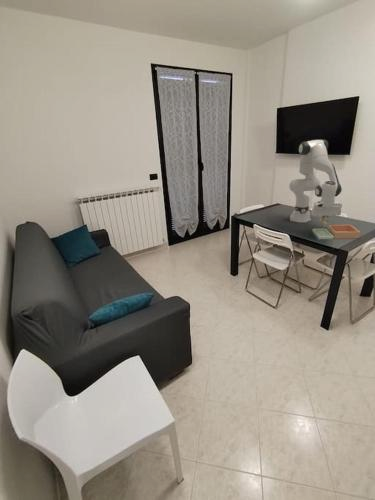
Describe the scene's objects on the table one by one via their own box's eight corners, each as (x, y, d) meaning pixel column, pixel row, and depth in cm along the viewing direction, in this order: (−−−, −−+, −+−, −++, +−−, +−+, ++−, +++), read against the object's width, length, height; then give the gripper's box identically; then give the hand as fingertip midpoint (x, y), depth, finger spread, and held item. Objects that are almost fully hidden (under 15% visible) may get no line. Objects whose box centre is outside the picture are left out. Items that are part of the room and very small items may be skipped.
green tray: (312, 232, 204) (312, 228, 203) (325, 231, 202) (325, 228, 201) (318, 240, 188) (319, 236, 187) (333, 240, 186) (333, 236, 185)
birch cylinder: (320, 225, 194) (321, 215, 190) (325, 225, 193) (327, 215, 190) (322, 226, 190) (323, 216, 187) (327, 226, 189) (329, 216, 186)
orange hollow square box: (326, 231, 202) (327, 225, 199) (349, 231, 198) (350, 224, 196) (334, 239, 187) (335, 232, 184) (358, 239, 183) (360, 232, 181)
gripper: (340, 201, 185) (337, 219, 191) (311, 203, 189) (309, 220, 195) (344, 203, 179) (340, 221, 185) (314, 205, 183) (312, 222, 189)
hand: (324, 220), depth 190 cm, fingers closed on birch cylinder, 4 cm apart
